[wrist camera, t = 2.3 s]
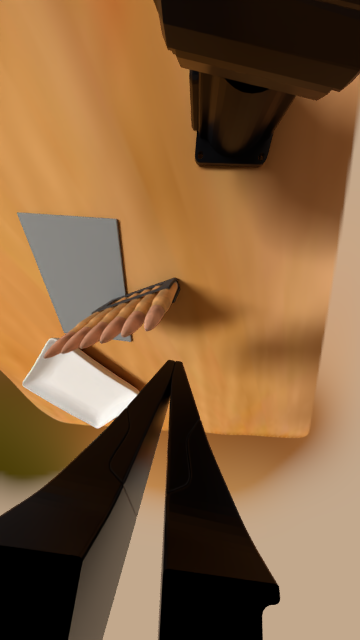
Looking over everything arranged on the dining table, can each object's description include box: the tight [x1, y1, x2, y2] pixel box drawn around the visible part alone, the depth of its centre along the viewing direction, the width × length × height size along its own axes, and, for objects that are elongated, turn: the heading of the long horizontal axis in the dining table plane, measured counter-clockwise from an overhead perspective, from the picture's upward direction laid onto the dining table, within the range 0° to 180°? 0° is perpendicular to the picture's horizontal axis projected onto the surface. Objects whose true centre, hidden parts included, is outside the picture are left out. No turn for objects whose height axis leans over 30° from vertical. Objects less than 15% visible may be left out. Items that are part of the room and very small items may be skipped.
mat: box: [17, 213, 132, 342], centre depth 21 cm, size 13×18×1 cm
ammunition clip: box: [44, 278, 180, 359], centre depth 15 cm, size 11×2×12 cm, turn 109°
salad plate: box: [23, 338, 139, 428], centre depth 31 cm, size 21×21×3 cm
